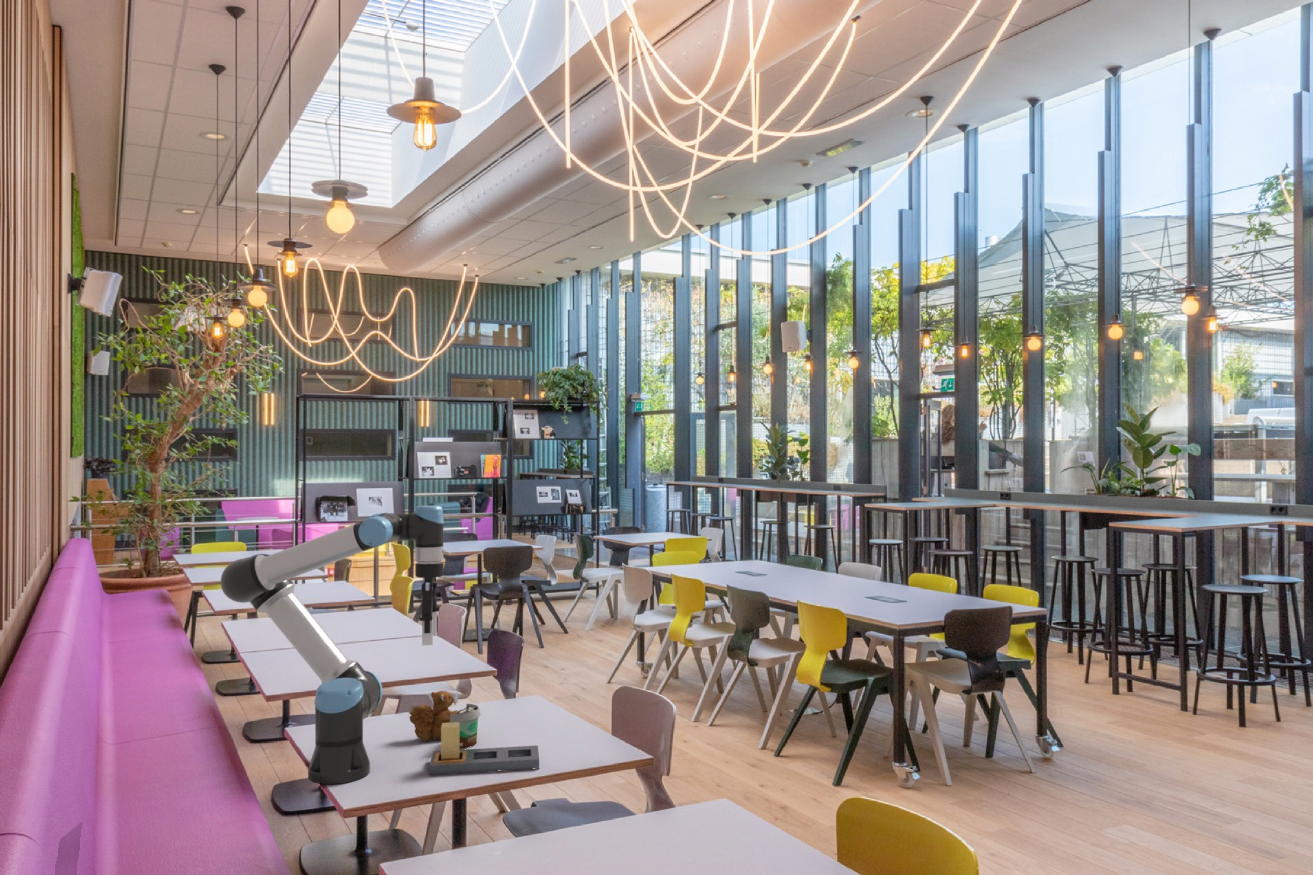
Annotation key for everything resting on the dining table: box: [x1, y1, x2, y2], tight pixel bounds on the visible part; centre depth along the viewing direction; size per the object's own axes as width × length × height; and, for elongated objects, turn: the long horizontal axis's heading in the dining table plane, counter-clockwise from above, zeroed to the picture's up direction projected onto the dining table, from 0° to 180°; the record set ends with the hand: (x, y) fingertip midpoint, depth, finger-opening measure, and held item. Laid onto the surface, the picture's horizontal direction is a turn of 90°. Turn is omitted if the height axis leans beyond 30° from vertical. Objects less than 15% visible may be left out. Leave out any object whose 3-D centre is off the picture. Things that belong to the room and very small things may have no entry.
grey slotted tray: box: [428, 745, 540, 776], centre depth 248 cm, size 28×12×3 cm, turn 99°
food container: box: [450, 703, 482, 749], centre depth 266 cm, size 12×6×10 cm, turn 168°
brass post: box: [440, 722, 461, 761], centre depth 246 cm, size 4×4×11 cm
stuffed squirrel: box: [408, 690, 459, 743], centre depth 272 cm, size 10×14×13 cm
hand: (429, 640), depth 255 cm, fingers open, 13 cm apart
